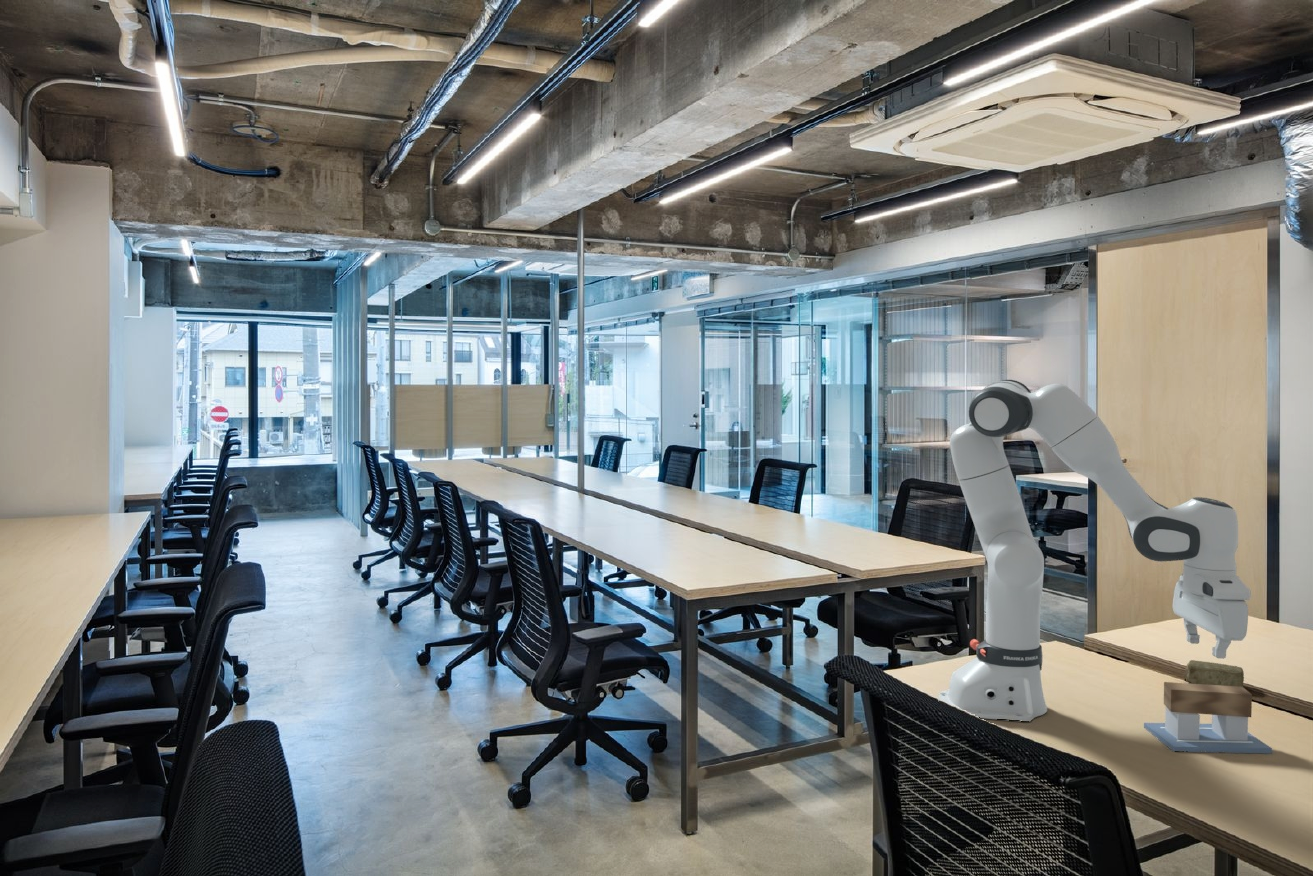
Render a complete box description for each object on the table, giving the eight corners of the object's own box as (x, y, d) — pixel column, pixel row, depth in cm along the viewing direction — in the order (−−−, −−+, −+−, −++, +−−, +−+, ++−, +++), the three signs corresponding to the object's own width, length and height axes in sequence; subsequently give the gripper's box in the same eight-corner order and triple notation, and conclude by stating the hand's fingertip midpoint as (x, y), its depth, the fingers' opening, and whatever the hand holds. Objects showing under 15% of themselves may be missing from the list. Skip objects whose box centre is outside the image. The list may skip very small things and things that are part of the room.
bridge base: (1173, 751, 169) (1174, 721, 168) (1143, 727, 180) (1144, 699, 180) (1271, 753, 167) (1272, 722, 167) (1235, 729, 179) (1236, 700, 179)
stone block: (1243, 693, 200) (1244, 672, 199) (1185, 685, 206) (1185, 664, 206) (1243, 686, 204) (1243, 665, 204) (1186, 678, 211) (1186, 657, 210)
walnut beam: (1170, 711, 173) (1171, 689, 173) (1163, 703, 177) (1164, 682, 177) (1251, 717, 170) (1251, 694, 169) (1242, 709, 174) (1242, 686, 174)
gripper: (1165, 569, 183) (1162, 634, 183) (1220, 592, 162) (1217, 665, 163) (1197, 569, 182) (1194, 635, 183) (1256, 593, 162) (1252, 667, 163)
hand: (1205, 650), depth 173 cm, fingers open, 8 cm apart
